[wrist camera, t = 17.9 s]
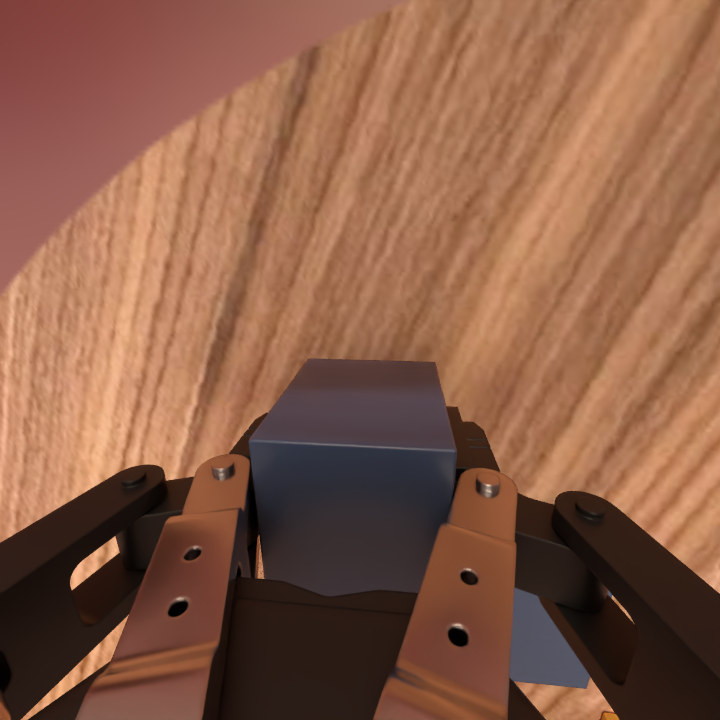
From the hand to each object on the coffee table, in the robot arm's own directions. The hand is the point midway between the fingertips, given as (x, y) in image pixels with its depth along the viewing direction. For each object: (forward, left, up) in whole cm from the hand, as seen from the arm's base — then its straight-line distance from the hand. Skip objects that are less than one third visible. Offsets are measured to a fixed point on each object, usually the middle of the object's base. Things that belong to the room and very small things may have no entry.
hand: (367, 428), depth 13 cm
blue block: (0, 0, -1) cm, 1 cm away
